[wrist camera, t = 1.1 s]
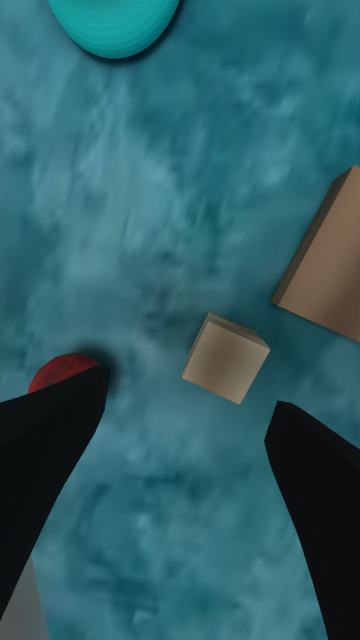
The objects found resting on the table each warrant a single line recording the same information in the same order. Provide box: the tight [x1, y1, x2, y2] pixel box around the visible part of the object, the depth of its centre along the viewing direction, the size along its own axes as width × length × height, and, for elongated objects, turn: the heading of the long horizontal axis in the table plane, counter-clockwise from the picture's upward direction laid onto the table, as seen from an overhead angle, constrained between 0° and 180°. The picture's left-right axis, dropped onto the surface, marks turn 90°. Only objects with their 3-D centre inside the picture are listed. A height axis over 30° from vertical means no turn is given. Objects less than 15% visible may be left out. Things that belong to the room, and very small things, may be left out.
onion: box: [28, 353, 108, 394], centre depth 19 cm, size 6×6×8 cm
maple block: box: [182, 311, 270, 405], centre depth 19 cm, size 4×4×5 cm
